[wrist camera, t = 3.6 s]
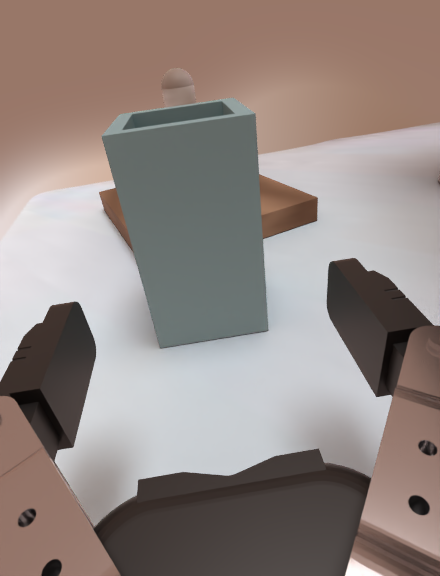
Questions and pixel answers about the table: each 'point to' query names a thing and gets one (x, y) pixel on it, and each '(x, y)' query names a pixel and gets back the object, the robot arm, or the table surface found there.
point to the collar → (193, 216)
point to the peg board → (273, 195)
